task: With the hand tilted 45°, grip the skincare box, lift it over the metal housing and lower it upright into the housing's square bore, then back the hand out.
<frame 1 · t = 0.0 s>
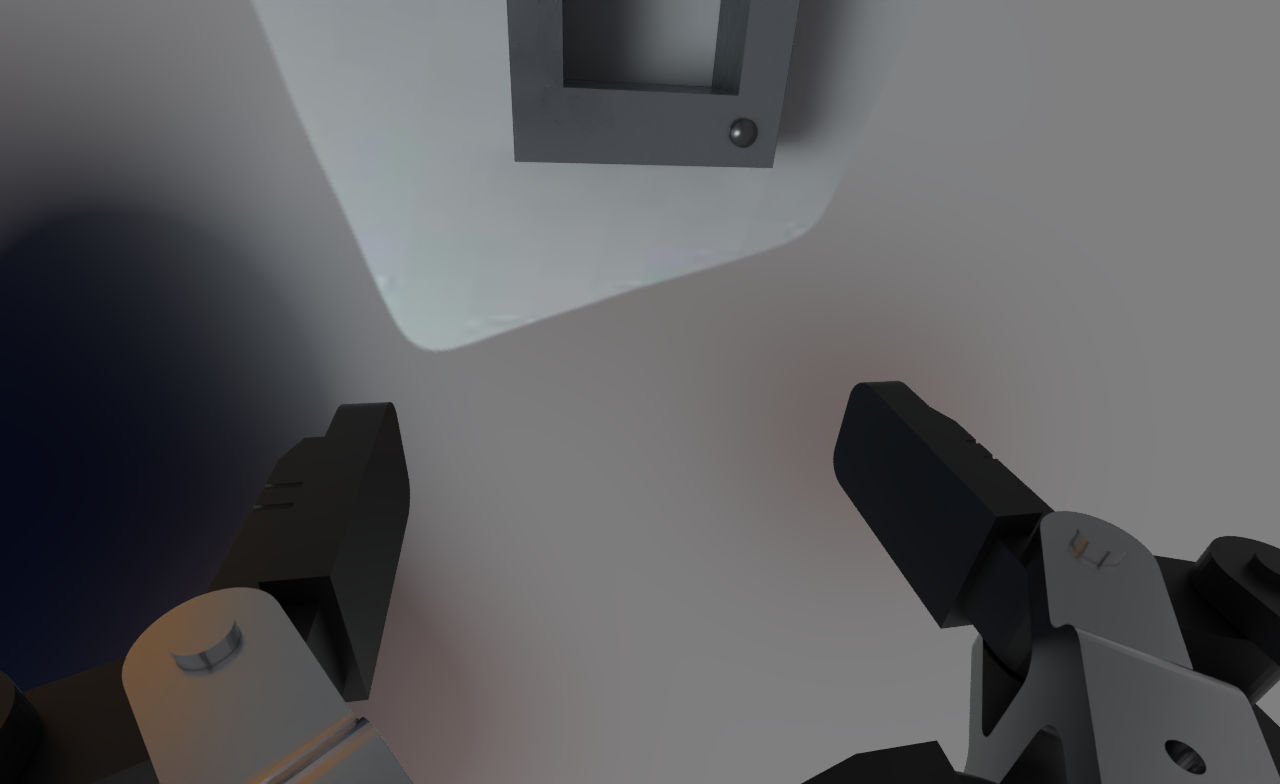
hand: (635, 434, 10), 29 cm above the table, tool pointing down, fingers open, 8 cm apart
housing: (639, 10, 32), on the table
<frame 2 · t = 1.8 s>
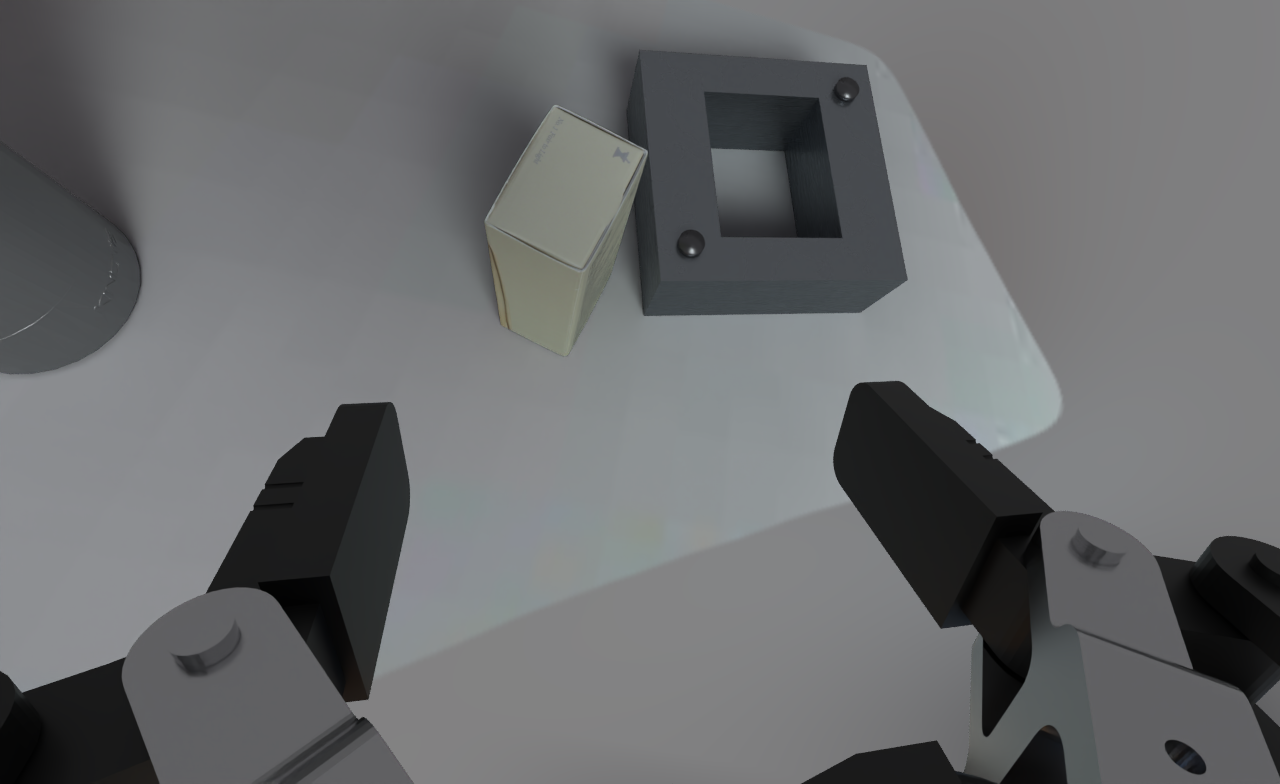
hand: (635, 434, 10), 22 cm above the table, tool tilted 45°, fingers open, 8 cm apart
skincare box: (558, 302, 35), on the table
housing: (742, 210, 38), on the table
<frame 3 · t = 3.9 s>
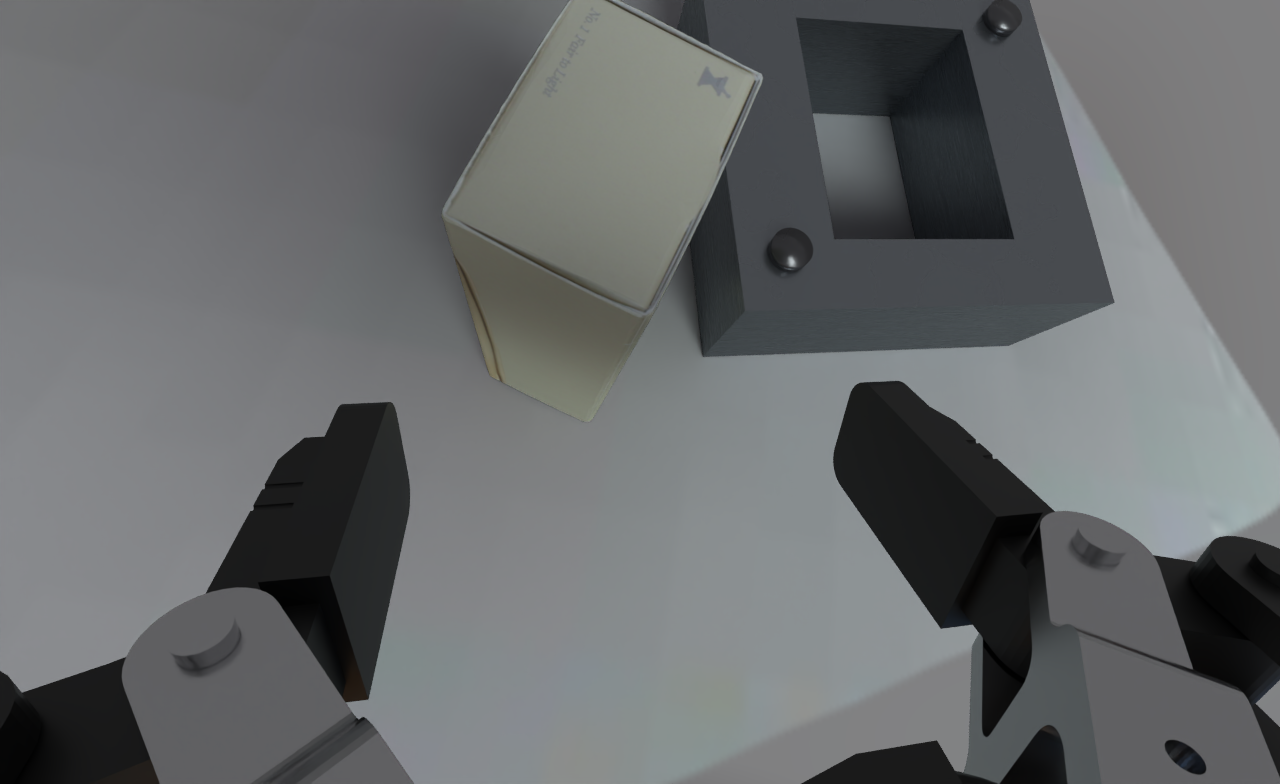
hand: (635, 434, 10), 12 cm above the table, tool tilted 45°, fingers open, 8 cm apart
skincare box: (575, 338, 23), on the table
housing: (837, 200, 26), on the table
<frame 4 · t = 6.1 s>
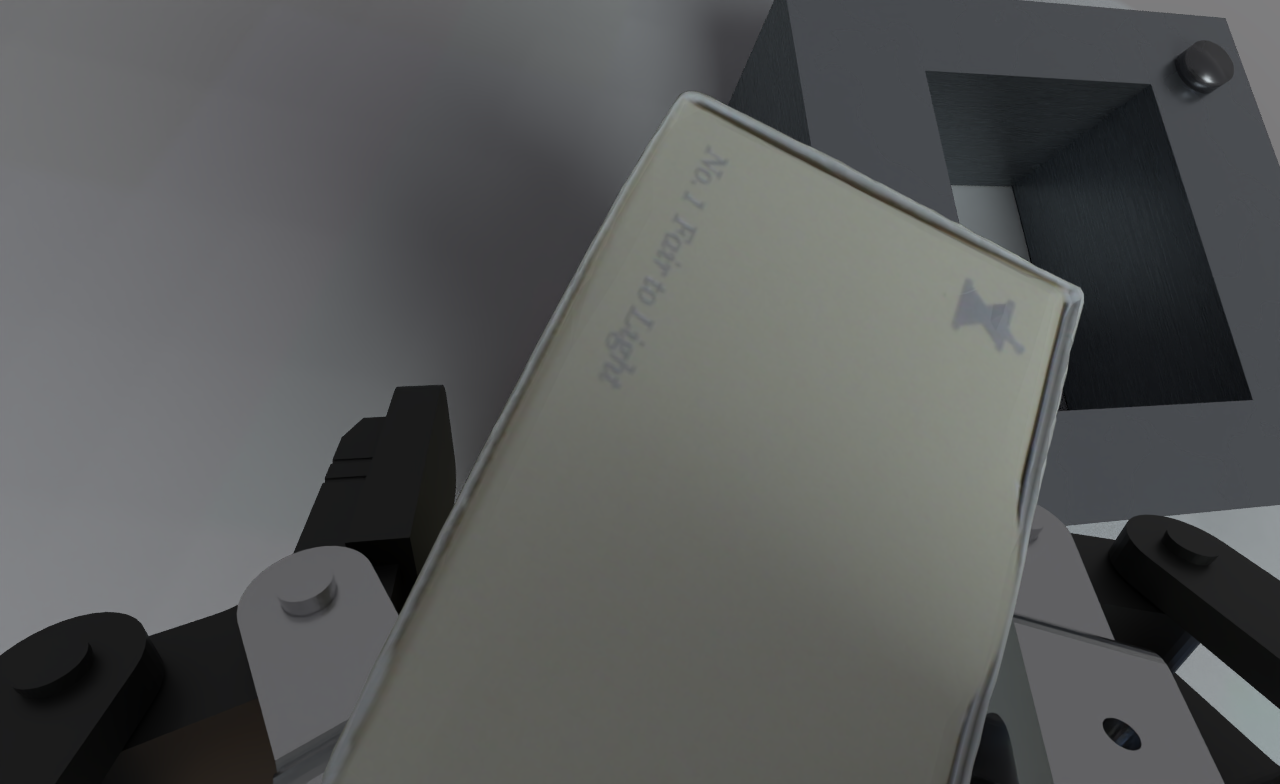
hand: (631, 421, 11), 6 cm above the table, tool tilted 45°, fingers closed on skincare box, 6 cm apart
skincare box: (602, 520, 16), on the table, touching gripper
housing: (951, 305, 20), on the table
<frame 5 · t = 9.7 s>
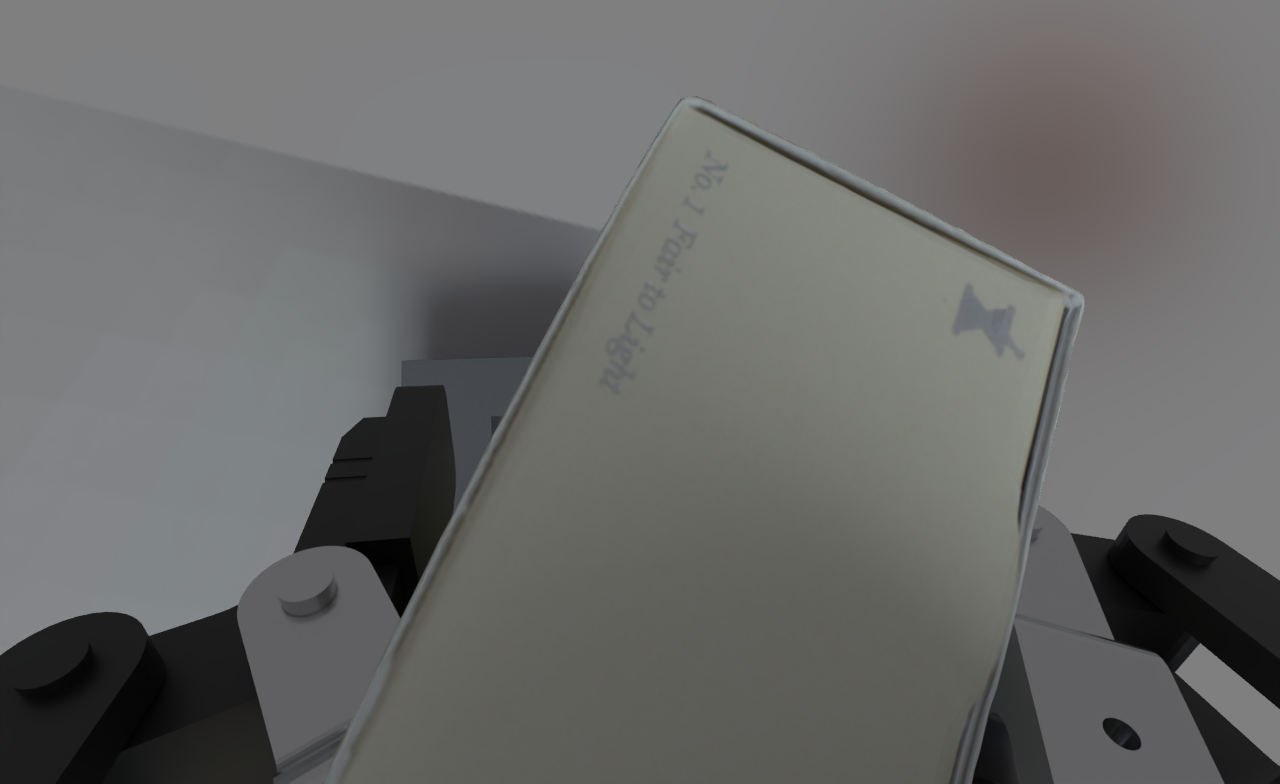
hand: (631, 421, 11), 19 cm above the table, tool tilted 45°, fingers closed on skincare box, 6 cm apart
skincare box: (602, 522, 16), point 13 cm above the table, touching gripper
housing: (575, 522, 29), on the table
when the fingers open (7 cm above the table, at t = 13.3 s): skincare box drops 1 cm, resting in housing.
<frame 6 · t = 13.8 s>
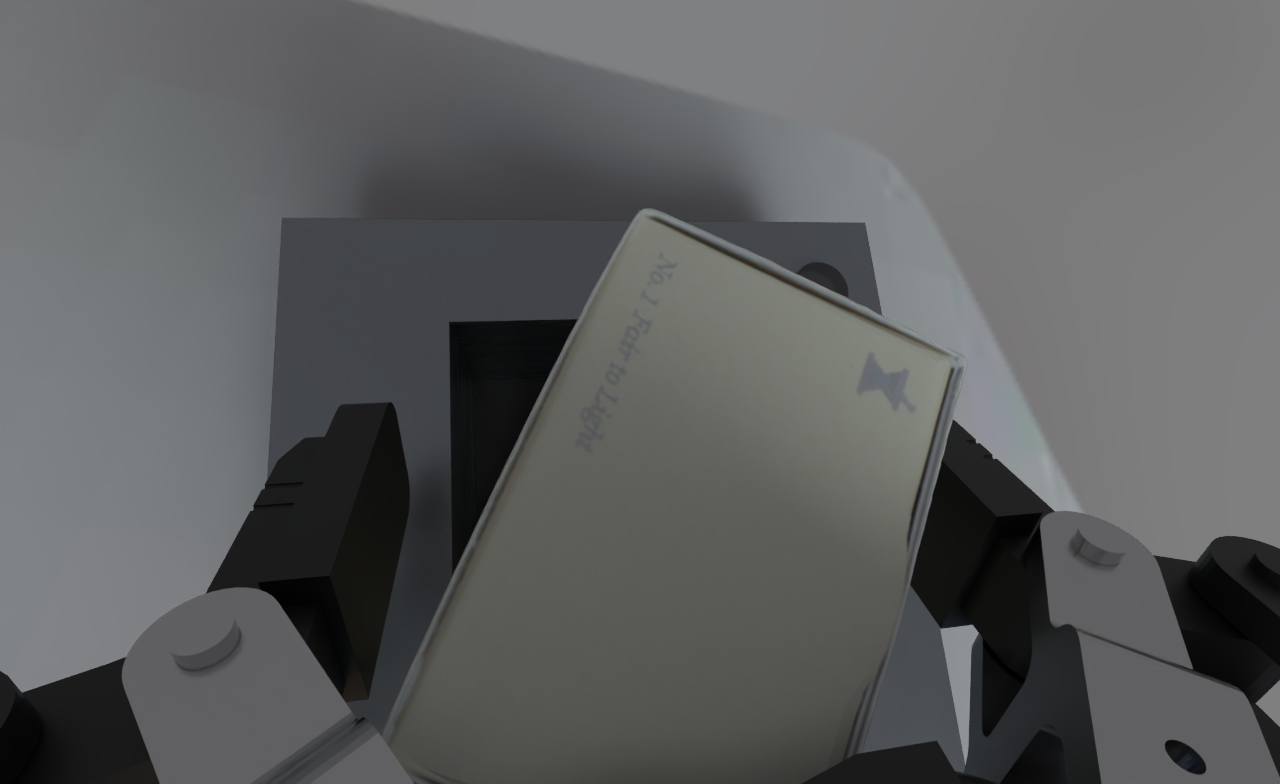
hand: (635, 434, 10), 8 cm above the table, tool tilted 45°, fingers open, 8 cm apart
skincare box: (596, 530, 18), resting in housing
housing: (598, 521, 18), on the table
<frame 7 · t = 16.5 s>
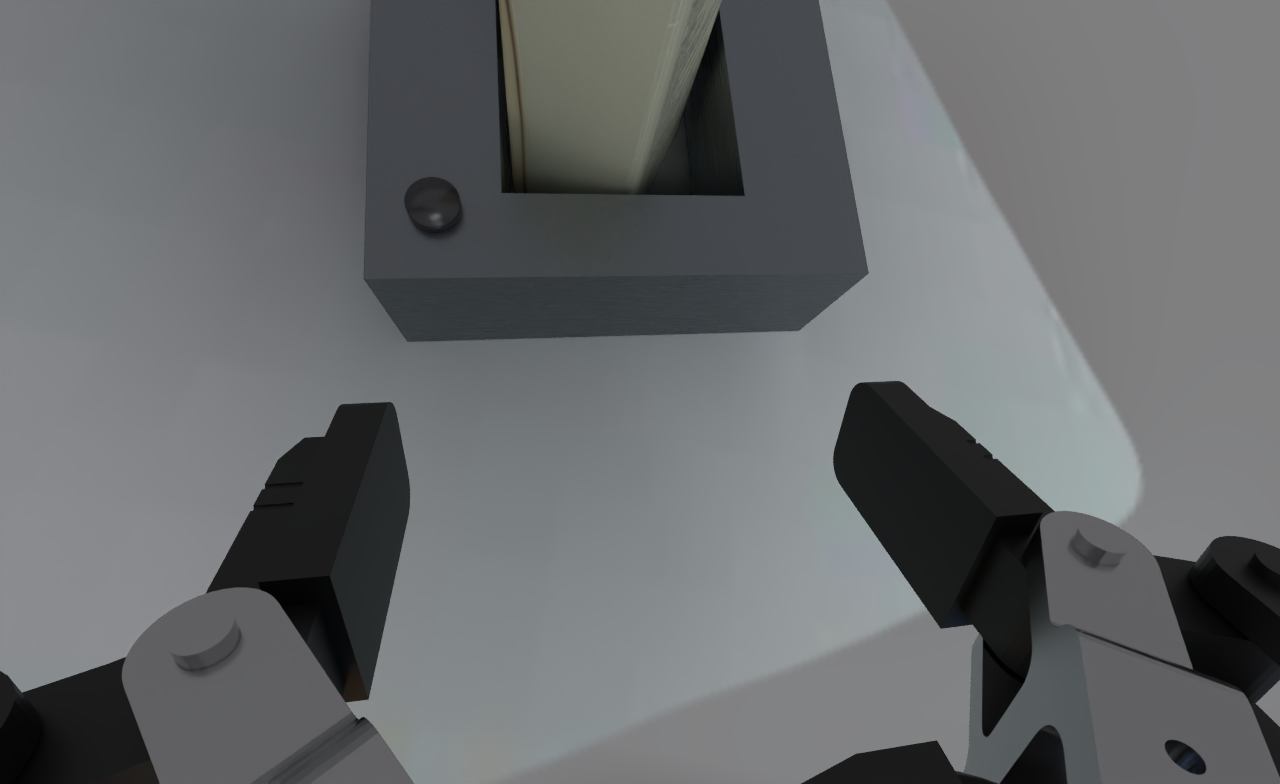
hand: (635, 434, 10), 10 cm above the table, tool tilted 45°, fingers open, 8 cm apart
skincare box: (599, 171, 23), resting in housing
housing: (600, 162, 23), on the table
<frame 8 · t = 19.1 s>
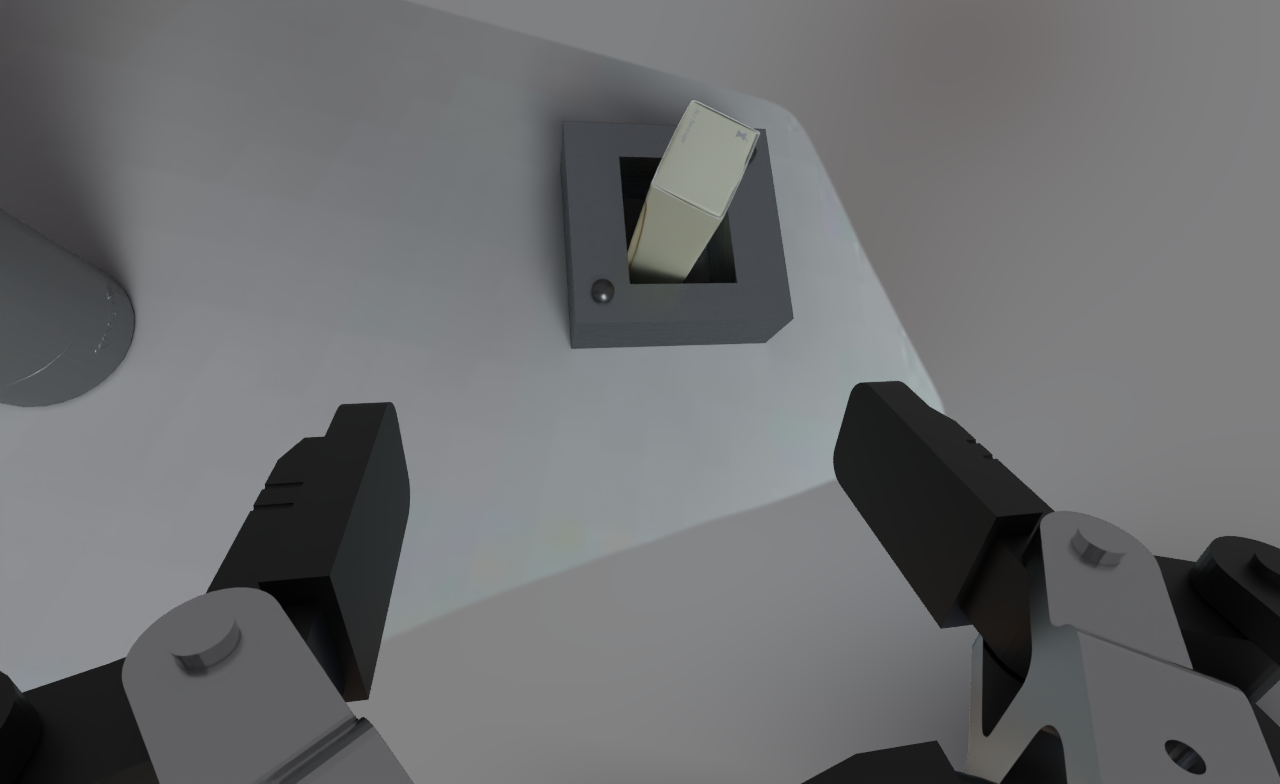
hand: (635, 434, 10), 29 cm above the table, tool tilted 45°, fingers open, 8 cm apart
skincare box: (661, 258, 43), resting in housing
housing: (662, 254, 43), on the table
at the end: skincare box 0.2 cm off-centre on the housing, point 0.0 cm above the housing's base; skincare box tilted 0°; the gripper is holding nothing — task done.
